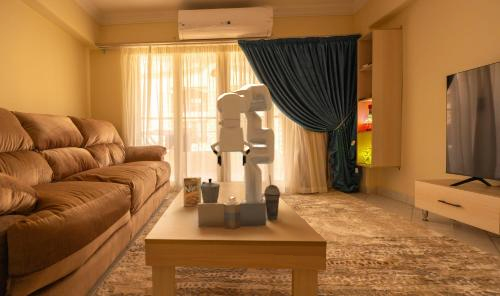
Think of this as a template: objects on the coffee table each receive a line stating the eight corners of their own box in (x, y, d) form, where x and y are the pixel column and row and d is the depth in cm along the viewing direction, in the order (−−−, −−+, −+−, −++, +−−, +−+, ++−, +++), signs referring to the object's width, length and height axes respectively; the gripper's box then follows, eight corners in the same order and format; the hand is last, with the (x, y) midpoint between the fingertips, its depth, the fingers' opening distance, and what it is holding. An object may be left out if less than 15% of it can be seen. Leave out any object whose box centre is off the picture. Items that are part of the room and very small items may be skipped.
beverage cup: (276, 222, 117) (276, 176, 116) (261, 220, 120) (261, 175, 119) (282, 218, 123) (282, 174, 122) (268, 216, 127) (268, 173, 126)
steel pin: (232, 224, 115) (232, 196, 114) (237, 225, 113) (237, 197, 112) (227, 226, 112) (227, 197, 112) (232, 227, 110) (232, 198, 110)
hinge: (197, 229, 109) (196, 205, 108) (199, 224, 115) (199, 201, 115) (266, 228, 110) (266, 204, 109) (265, 223, 116) (265, 201, 116)
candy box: (183, 206, 146) (183, 178, 146) (185, 204, 150) (185, 176, 150) (199, 206, 146) (199, 178, 145) (201, 204, 150) (201, 177, 149)
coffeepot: (226, 218, 123) (225, 179, 122) (207, 222, 118) (206, 181, 117) (211, 211, 136) (211, 175, 135) (193, 214, 131) (193, 177, 130)
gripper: (209, 124, 107) (209, 166, 108) (252, 123, 107) (253, 166, 108) (211, 124, 114) (212, 164, 115) (252, 124, 115) (252, 164, 116)
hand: (231, 165), depth 112 cm, fingers open, 9 cm apart
